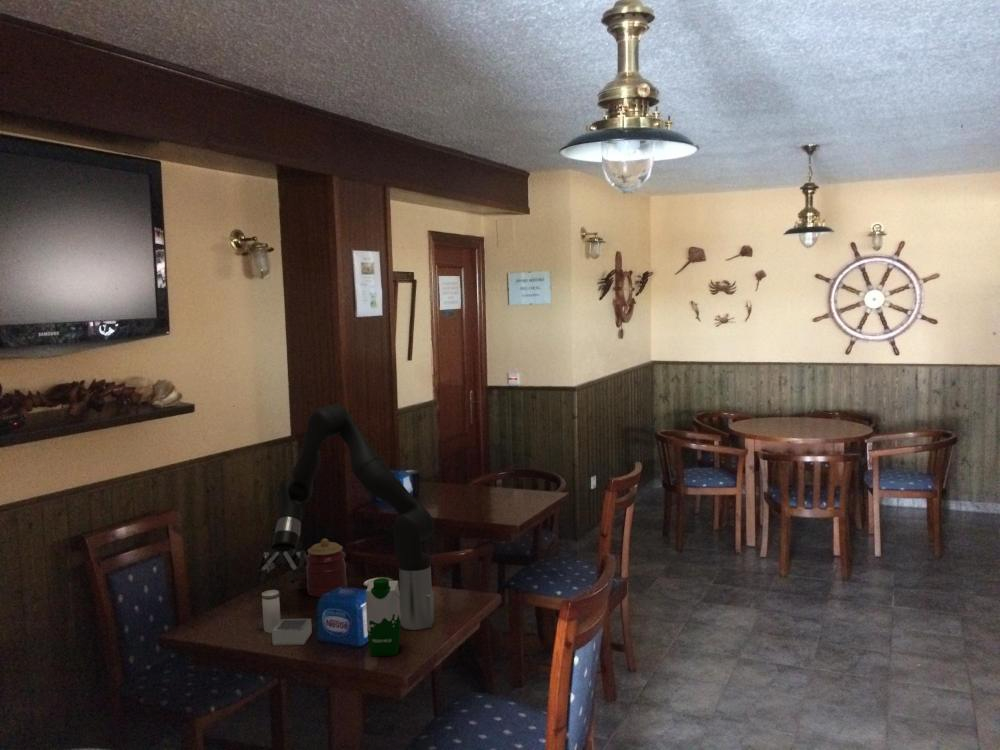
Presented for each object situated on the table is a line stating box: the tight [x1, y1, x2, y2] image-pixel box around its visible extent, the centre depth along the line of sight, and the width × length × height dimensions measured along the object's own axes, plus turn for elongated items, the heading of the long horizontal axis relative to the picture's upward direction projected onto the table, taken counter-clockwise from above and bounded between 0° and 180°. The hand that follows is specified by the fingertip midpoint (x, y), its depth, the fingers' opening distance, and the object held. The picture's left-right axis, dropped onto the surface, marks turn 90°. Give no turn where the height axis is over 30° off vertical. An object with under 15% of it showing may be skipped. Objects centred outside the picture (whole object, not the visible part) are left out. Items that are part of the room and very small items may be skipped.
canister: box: [305, 538, 348, 598], centre depth 272 cm, size 13×13×18 cm
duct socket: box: [271, 618, 313, 646], centre depth 233 cm, size 9×9×4 cm
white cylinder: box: [261, 589, 282, 634], centre depth 240 cm, size 5×5×11 cm
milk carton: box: [365, 577, 402, 657], centre depth 222 cm, size 9×9×20 cm
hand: (277, 583), depth 247 cm, fingers open, 8 cm apart
